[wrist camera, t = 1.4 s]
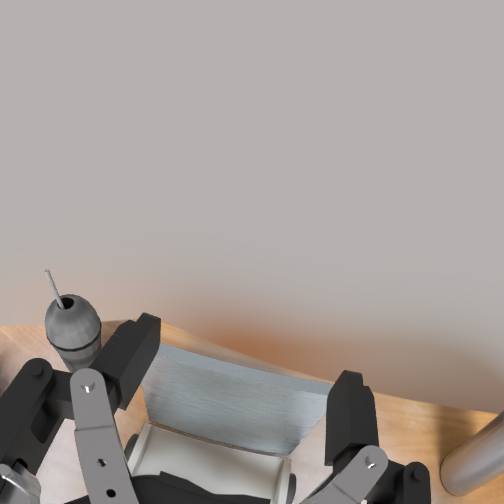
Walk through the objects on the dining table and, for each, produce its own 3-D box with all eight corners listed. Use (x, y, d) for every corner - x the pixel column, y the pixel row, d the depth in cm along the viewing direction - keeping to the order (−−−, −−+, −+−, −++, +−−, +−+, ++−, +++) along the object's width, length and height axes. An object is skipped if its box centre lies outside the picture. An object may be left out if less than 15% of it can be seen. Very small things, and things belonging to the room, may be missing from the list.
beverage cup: (120, 398, 35) (91, 288, 24) (72, 404, 31) (21, 296, 21) (111, 357, 40) (90, 246, 29) (68, 363, 37) (30, 252, 26)
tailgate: (288, 455, 28) (337, 397, 20) (149, 420, 28) (135, 346, 21) (289, 442, 29) (337, 378, 22) (154, 408, 30) (144, 330, 23)
